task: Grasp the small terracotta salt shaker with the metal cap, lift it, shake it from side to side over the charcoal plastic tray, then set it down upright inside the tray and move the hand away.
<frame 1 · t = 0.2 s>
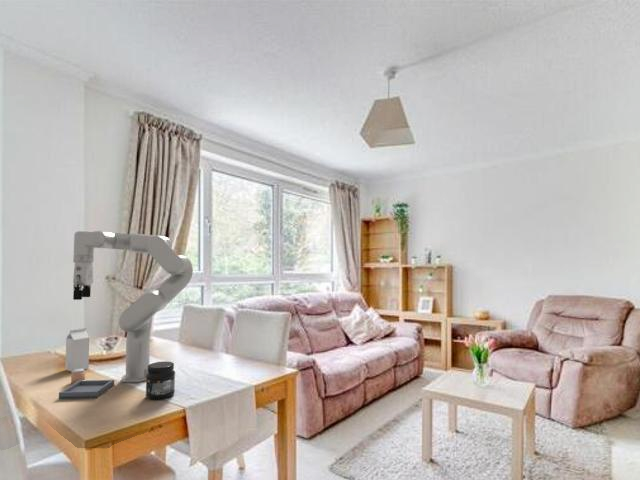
hand: (82, 298, 168), 36 cm above the table, tool pointing down, fingers open, 9 cm apart
milk carton: (77, 369, 183), on the table
salt shaker: (78, 382, 163), on the table
tray: (87, 392, 152), on the table
supplement container: (160, 396, 149), on the table
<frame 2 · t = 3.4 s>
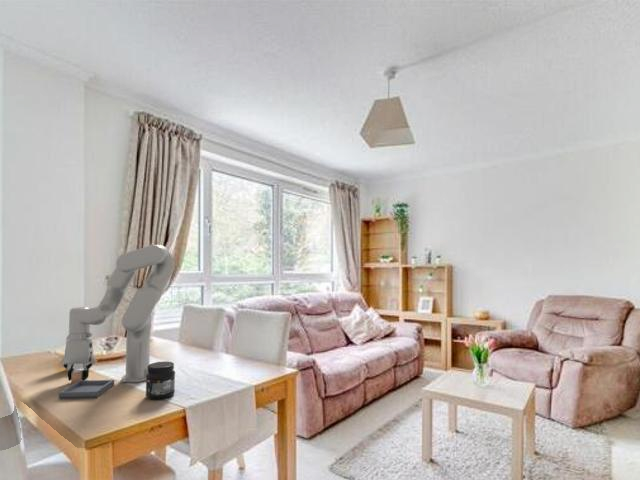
hand: (78, 378, 164), 2 cm above the table, tool pointing down, fingers closed on salt shaker, 5 cm apart
salt shaker: (78, 382, 164), on the table, touching gripper
everything else where it was.
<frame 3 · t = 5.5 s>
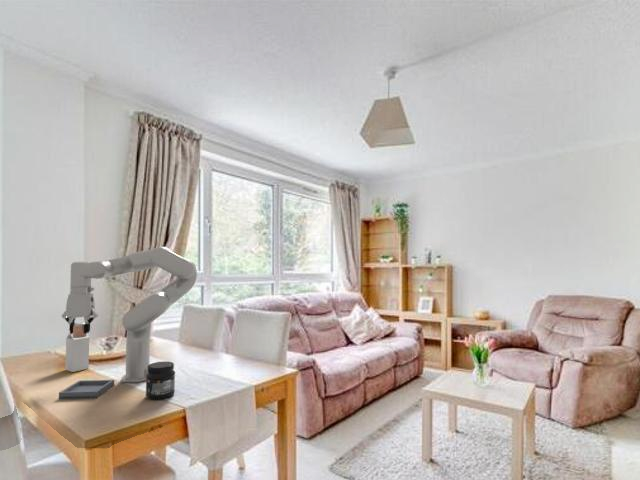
hand: (79, 332, 164), 21 cm above the table, tool pointing down, fingers closed on salt shaker, 5 cm apart
salt shaker: (79, 336, 164), point 20 cm above the table, touching gripper
everything else where it was.
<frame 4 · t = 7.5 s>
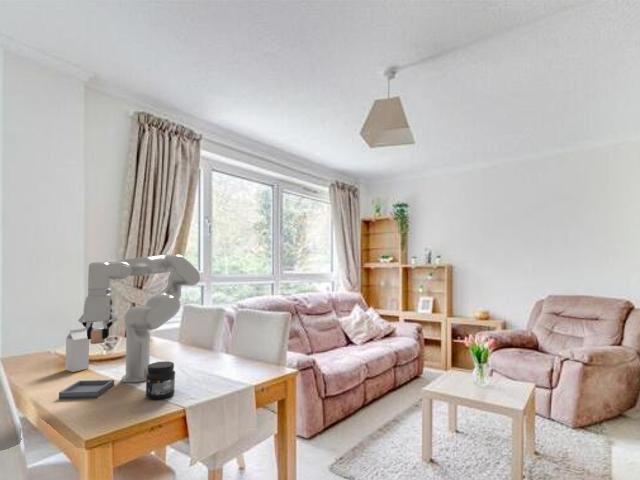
hand: (97, 338, 153), 21 cm above the table, tool pointing down, fingers closed on salt shaker, 5 cm apart
salt shaker: (97, 342, 153), point 20 cm above the table, touching gripper
everything else where it was.
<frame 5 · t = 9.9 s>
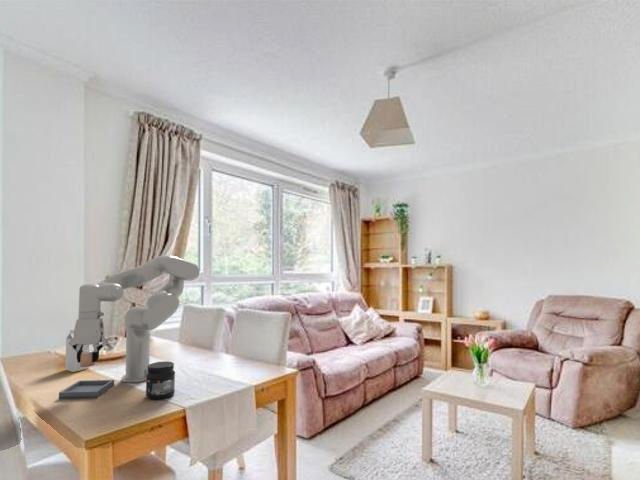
hand: (87, 361, 153), 12 cm above the table, tool pointing down, fingers closed on salt shaker, 5 cm apart
salt shaker: (87, 365, 152), point 11 cm above the table, touching gripper
everything else where it was.
when the fingers open (5 cm above the table, at t = 11.7 s): salt shaker drops 2 cm, resting on tray.
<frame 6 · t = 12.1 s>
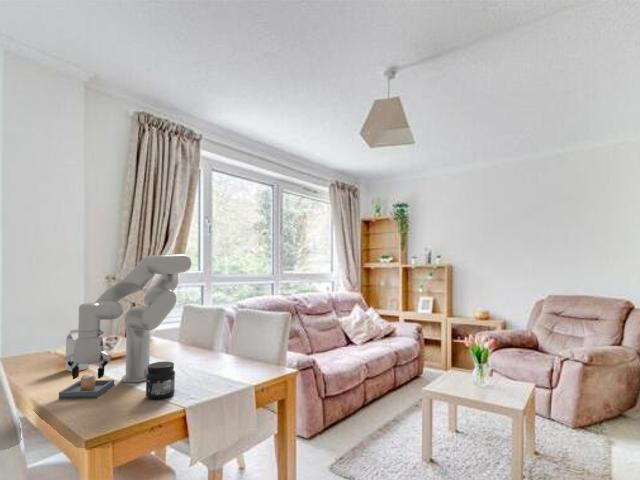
hand: (88, 377, 153), 6 cm above the table, tool pointing down, fingers open, 9 cm apart
salt shaker: (87, 389, 152), point 1 cm above the table, touching tray
everything else where it was.
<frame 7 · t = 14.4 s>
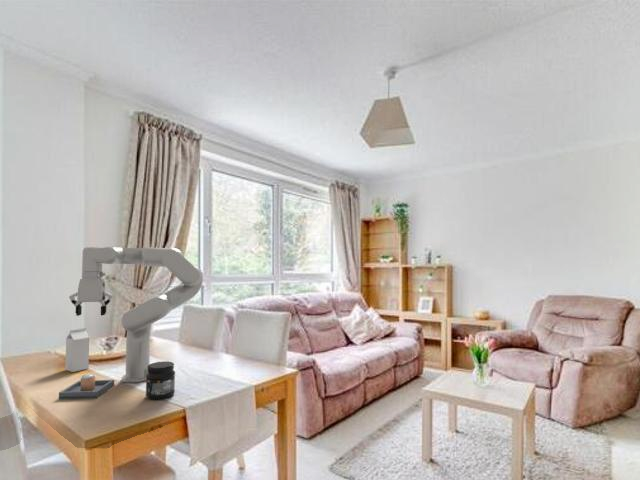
hand: (91, 315, 166), 28 cm above the table, tool pointing down, fingers open, 9 cm apart
nothing on the table moved.
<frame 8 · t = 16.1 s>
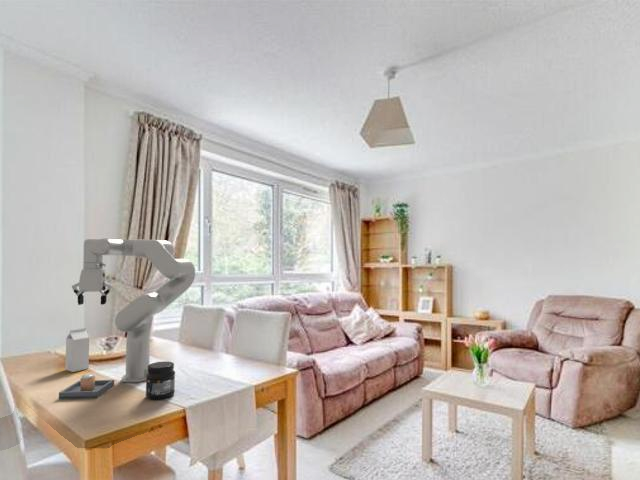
hand: (92, 304, 173), 32 cm above the table, tool pointing down, fingers open, 9 cm apart
nothing on the table moved.
at the end: salt shaker inside the target area on the tray (0.1 cm from its centre), point 1.1 cm above the tray's base; salt shaker tilted 2°; the gripper is holding nothing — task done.
